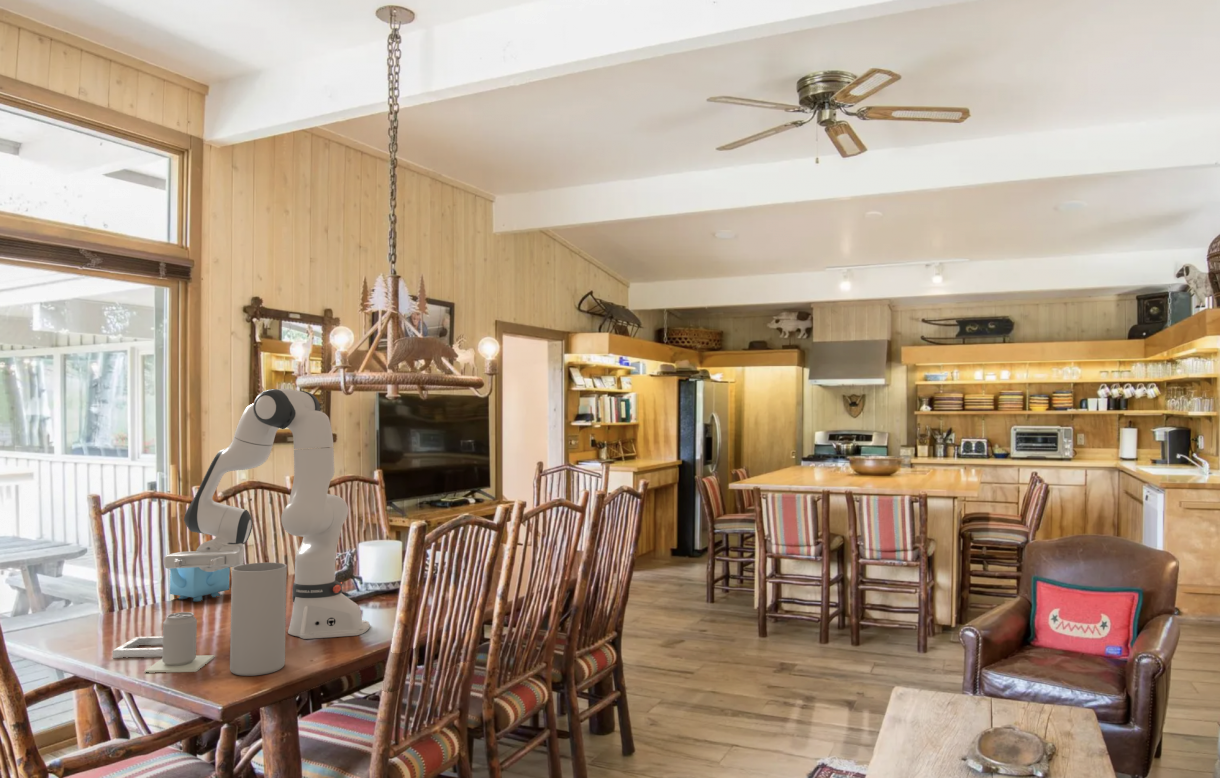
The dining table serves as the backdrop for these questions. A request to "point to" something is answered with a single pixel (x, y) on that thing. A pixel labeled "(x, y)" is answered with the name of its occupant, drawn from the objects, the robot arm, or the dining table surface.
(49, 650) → the dining table surface
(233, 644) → the cylinder vase
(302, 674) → the dining table surface
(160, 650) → the square picture frame
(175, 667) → the tile
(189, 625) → the can
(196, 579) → the teakettle
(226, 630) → the dining table surface
